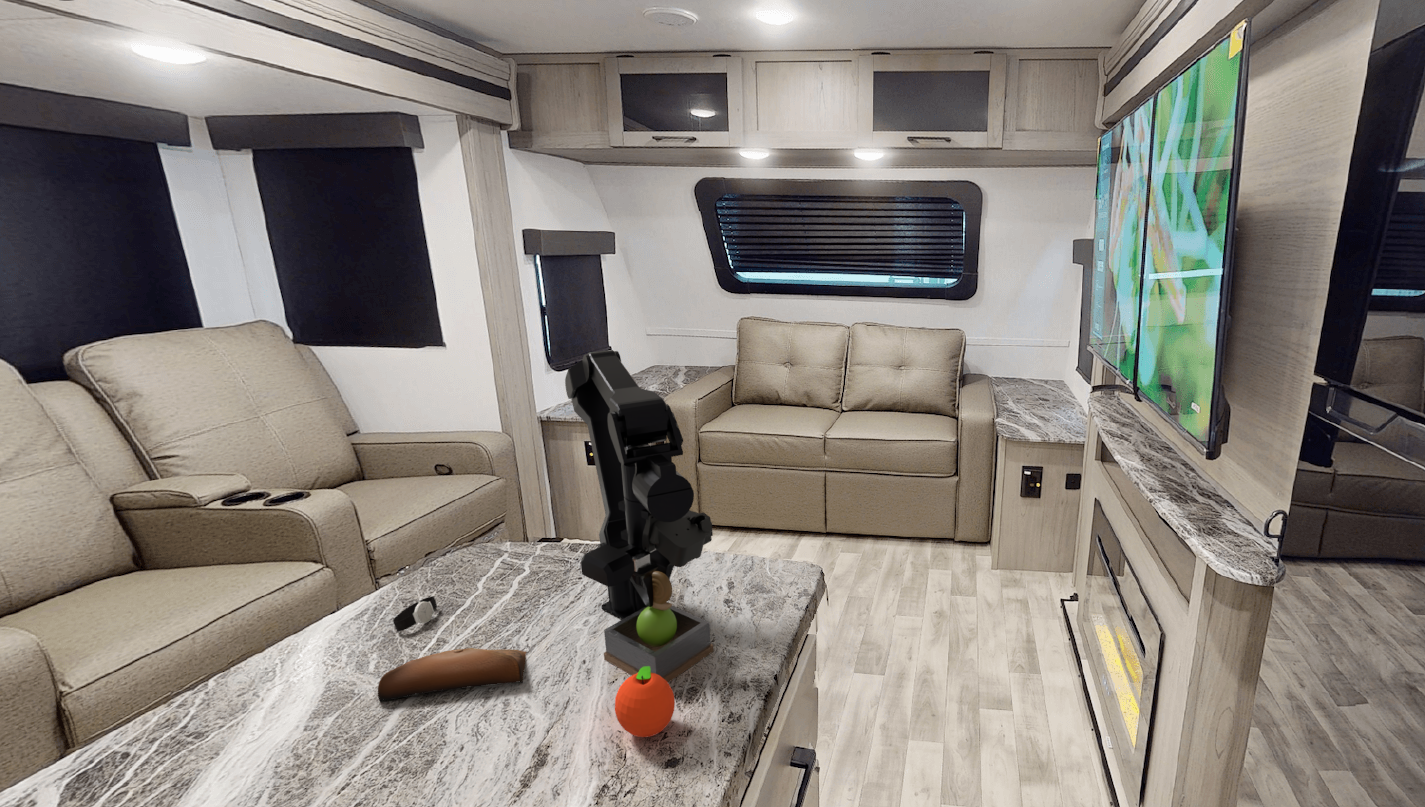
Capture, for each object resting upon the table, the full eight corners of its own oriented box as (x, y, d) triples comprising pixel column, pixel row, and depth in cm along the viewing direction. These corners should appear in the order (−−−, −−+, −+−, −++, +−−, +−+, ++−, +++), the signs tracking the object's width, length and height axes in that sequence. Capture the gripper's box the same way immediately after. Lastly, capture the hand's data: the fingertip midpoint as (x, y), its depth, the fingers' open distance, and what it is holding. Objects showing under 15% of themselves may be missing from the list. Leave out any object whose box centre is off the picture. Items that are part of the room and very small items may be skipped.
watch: (411, 637, 103) (407, 615, 102) (386, 632, 104) (382, 611, 104) (445, 610, 110) (442, 589, 109) (421, 607, 112) (418, 586, 111)
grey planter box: (604, 659, 94) (601, 630, 93) (660, 625, 102) (658, 598, 101) (657, 690, 87) (654, 658, 86) (713, 651, 95) (711, 622, 94)
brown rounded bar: (530, 648, 98) (522, 624, 93) (528, 697, 93) (519, 675, 88) (397, 665, 96) (383, 642, 91) (388, 716, 91) (372, 694, 86)
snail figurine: (648, 628, 98) (650, 547, 96) (684, 642, 94) (686, 558, 92) (622, 643, 93) (623, 559, 91) (658, 659, 90) (660, 571, 88)
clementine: (623, 705, 85) (618, 653, 83) (679, 703, 85) (675, 652, 83) (612, 752, 77) (606, 696, 76) (674, 750, 77) (669, 695, 75)
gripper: (632, 534, 77) (643, 657, 81) (740, 485, 90) (745, 593, 94) (572, 512, 85) (584, 625, 88) (680, 469, 98) (686, 570, 102)
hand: (654, 603), depth 93 cm, fingers closed on snail figurine
